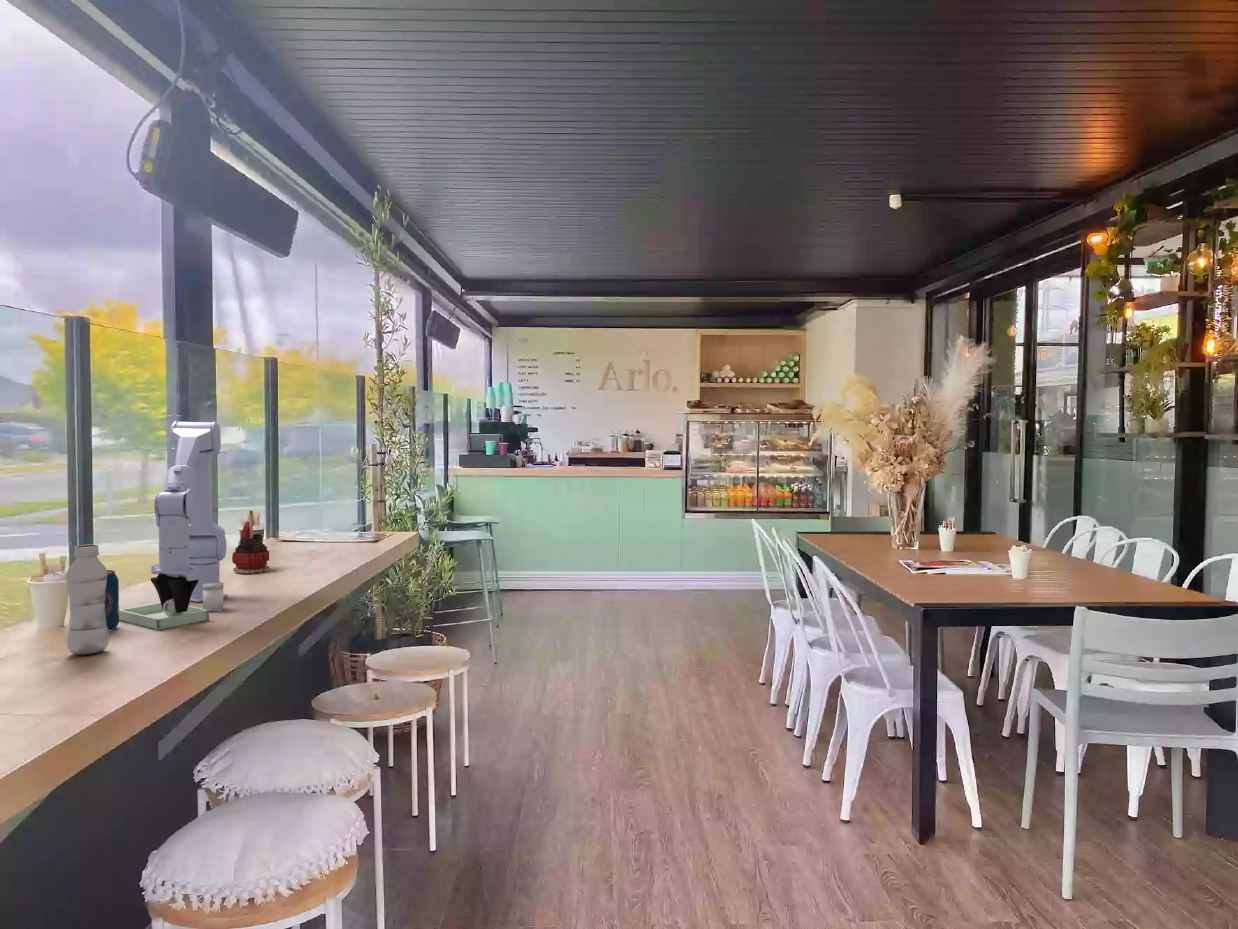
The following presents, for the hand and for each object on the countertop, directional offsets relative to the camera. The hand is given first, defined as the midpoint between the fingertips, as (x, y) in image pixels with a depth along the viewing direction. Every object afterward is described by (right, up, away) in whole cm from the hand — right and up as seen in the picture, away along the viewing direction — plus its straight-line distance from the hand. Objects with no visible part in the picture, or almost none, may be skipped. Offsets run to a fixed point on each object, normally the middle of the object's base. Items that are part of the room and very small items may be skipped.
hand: (174, 610), depth 173 cm
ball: (0, +1, 0) cm, 1 cm away
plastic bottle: (-3, -4, -24) cm, 25 cm away
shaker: (+2, -2, +13) cm, 13 cm away
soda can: (-12, -3, -7) cm, 14 cm away
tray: (-4, -3, +2) cm, 5 cm away
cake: (-12, 0, +63) cm, 64 cm away
